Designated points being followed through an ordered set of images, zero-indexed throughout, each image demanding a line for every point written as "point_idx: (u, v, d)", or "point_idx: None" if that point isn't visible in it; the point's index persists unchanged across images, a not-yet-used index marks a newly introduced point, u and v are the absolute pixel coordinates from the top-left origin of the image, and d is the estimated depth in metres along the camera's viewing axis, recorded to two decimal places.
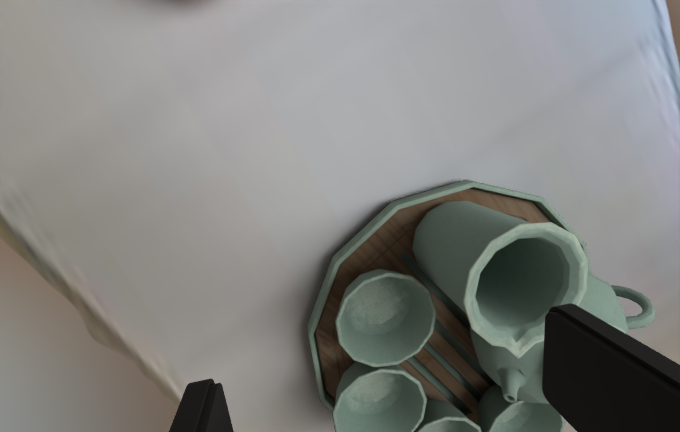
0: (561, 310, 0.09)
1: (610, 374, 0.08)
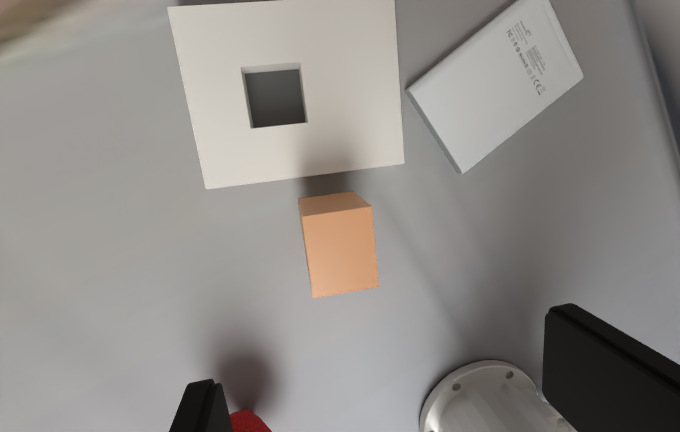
0: (561, 310, 0.09)
1: (610, 374, 0.08)
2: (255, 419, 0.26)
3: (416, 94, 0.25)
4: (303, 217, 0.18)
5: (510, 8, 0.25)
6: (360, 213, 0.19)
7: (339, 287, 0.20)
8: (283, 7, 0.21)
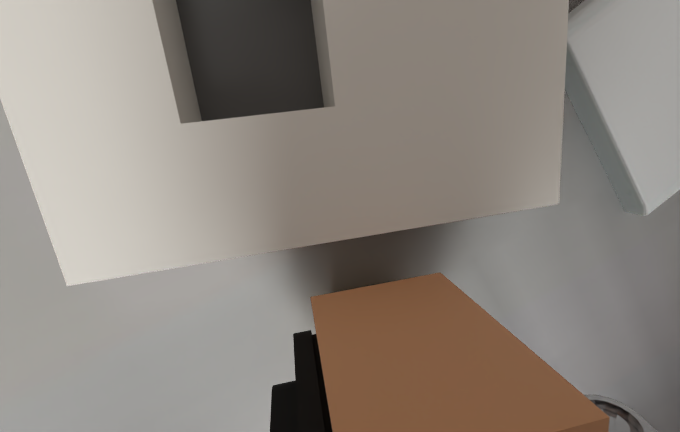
0: None
1: None
2: None
3: (576, 41, 0.11)
4: None
5: None
6: None
7: None
8: None
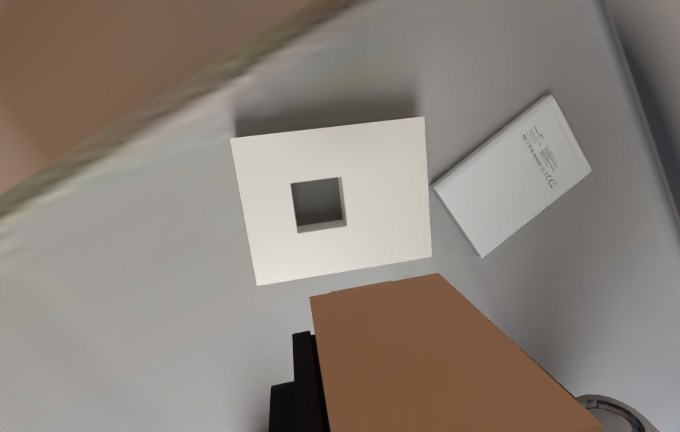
0: None
1: None
2: None
3: (440, 192, 0.28)
4: None
5: (525, 116, 0.28)
6: None
7: None
8: (328, 133, 0.24)
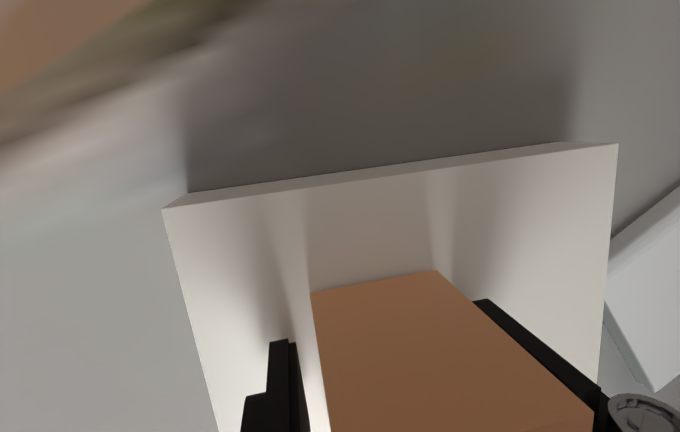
0: (475, 304, 0.10)
1: None
2: None
3: None
4: None
5: None
6: None
7: None
8: (405, 187, 0.10)
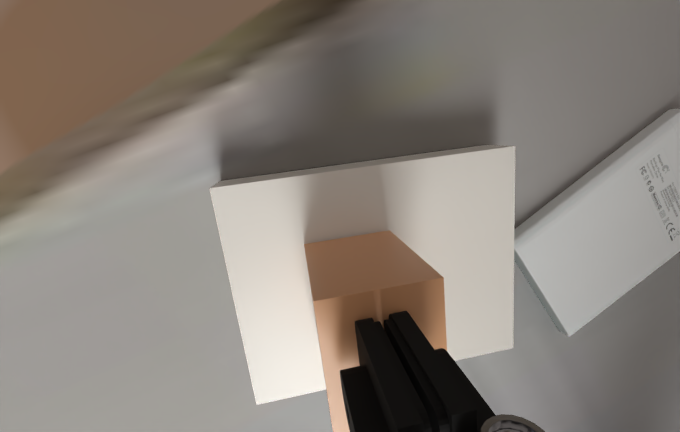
0: (392, 317, 0.10)
1: None
2: None
3: (520, 250, 0.19)
4: (316, 302, 0.10)
5: (646, 139, 0.19)
6: (423, 291, 0.10)
7: None
8: (368, 175, 0.15)
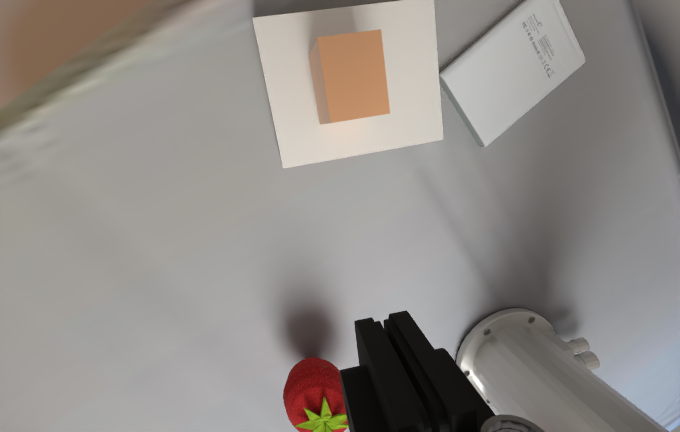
0: (392, 317, 0.10)
1: None
2: (326, 361, 0.31)
3: (447, 79, 0.29)
4: (318, 38, 0.20)
5: (524, 3, 0.29)
6: (371, 36, 0.20)
7: (354, 112, 0.21)
8: (344, 13, 0.25)
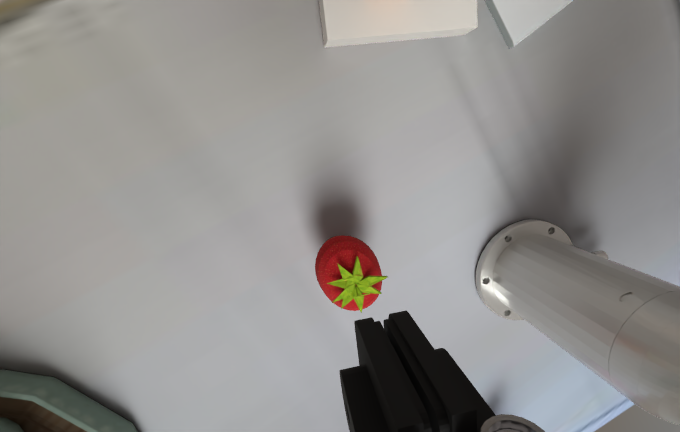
0: (392, 317, 0.10)
1: None
2: None
3: None
4: None
5: None
6: None
7: None
8: None
